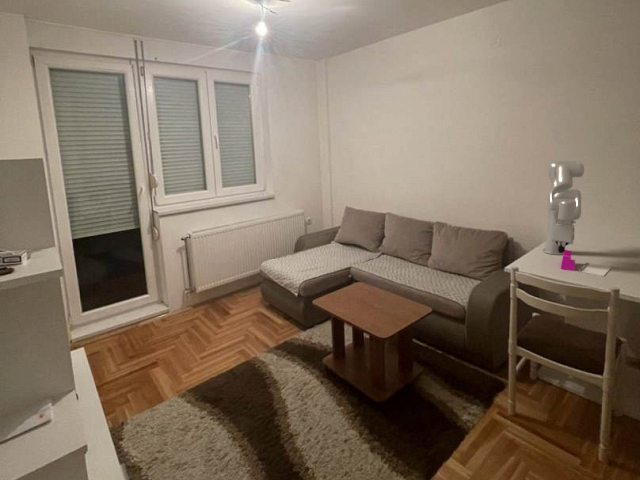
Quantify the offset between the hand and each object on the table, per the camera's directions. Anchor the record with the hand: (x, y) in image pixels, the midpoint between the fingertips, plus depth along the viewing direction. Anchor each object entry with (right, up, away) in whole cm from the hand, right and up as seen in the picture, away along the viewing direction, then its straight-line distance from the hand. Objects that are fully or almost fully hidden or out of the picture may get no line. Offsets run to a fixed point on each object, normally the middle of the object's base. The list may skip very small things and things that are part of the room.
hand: (561, 252), depth 222 cm
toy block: (+2, -8, -2) cm, 9 cm away
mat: (+13, -9, -10) cm, 19 cm away
